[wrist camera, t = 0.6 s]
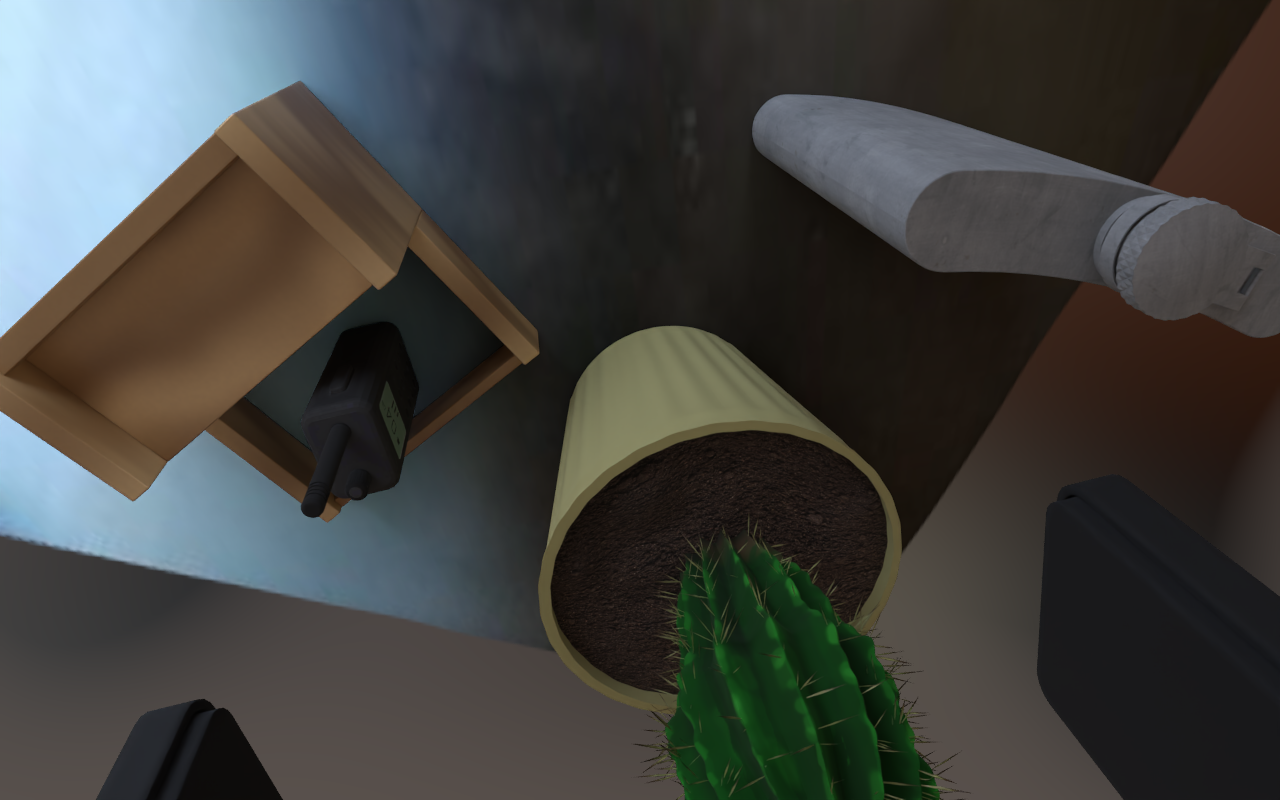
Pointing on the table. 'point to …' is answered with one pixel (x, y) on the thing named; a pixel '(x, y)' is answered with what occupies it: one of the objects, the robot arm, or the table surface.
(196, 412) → the step shelf
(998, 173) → the hip flask
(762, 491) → the potted cactus
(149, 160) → the table surface
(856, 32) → the table surface
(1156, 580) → the robot arm
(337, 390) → the walkie-talkie
